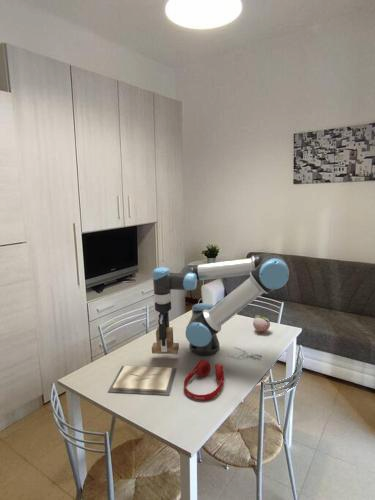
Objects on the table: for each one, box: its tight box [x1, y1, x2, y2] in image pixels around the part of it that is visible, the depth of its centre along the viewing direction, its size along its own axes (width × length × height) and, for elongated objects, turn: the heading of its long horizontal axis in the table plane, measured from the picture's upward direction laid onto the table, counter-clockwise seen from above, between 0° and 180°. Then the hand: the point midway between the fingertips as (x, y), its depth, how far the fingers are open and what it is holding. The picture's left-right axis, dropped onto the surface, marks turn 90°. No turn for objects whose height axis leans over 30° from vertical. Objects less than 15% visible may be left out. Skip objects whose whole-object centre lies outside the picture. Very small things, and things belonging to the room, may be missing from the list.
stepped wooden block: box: [151, 326, 180, 355], centre depth 154 cm, size 12×5×11 cm, turn 84°
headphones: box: [183, 359, 226, 402], centre depth 135 cm, size 15×7×20 cm
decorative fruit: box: [252, 315, 271, 333], centre depth 181 cm, size 9×8×10 cm
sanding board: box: [107, 365, 177, 397], centre depth 140 cm, size 25×19×2 cm
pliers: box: [227, 346, 263, 361], centre depth 158 cm, size 10×2×15 cm
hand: (165, 348), depth 155 cm, fingers closed on stepped wooden block, 5 cm apart
